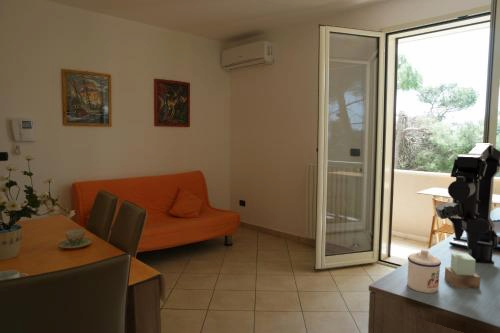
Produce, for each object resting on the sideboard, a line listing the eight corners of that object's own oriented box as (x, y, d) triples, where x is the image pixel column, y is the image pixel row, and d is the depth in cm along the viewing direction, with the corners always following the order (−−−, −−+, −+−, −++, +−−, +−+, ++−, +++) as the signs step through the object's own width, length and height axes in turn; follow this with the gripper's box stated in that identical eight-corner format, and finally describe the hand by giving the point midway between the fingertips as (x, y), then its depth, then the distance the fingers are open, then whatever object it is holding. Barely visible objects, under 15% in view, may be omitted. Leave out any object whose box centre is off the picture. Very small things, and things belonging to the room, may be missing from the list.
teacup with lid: (432, 296, 102) (435, 258, 101) (401, 286, 109) (403, 250, 107) (446, 284, 110) (449, 248, 109) (416, 275, 117) (418, 241, 116)
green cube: (467, 269, 113) (468, 254, 112) (474, 275, 108) (475, 260, 107) (450, 268, 114) (451, 253, 113) (456, 274, 109) (457, 258, 108)
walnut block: (466, 279, 114) (467, 267, 114) (479, 289, 108) (480, 277, 107) (444, 279, 115) (445, 267, 114) (455, 288, 108) (456, 276, 107)
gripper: (429, 189, 119) (426, 234, 121) (450, 200, 101) (446, 253, 103) (465, 190, 117) (462, 236, 119) (493, 202, 99) (488, 255, 101)
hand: (463, 244), depth 111 cm, fingers open, 9 cm apart
